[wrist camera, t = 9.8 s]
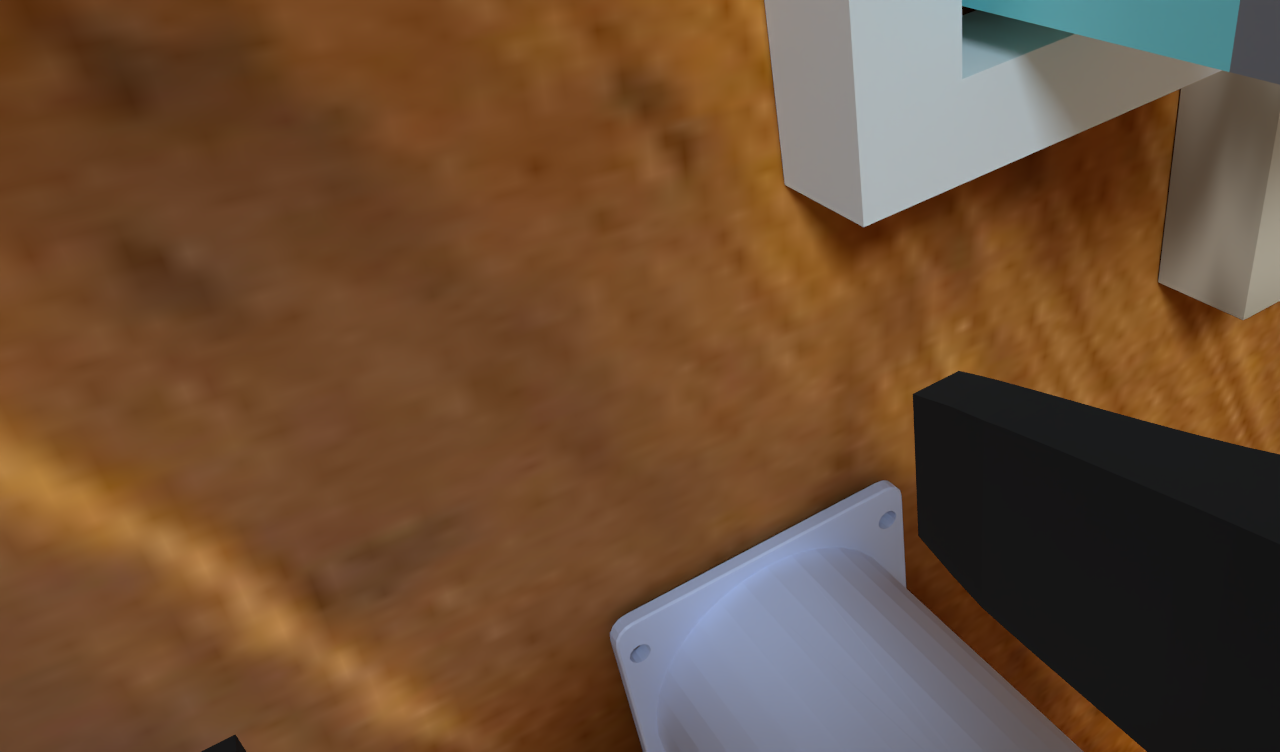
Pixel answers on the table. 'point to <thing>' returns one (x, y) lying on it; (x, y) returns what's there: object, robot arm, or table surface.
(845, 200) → the port block
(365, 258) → the table surface
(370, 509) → the table surface
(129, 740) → the table surface
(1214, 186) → the frame
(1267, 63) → the plug
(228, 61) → the table surface
